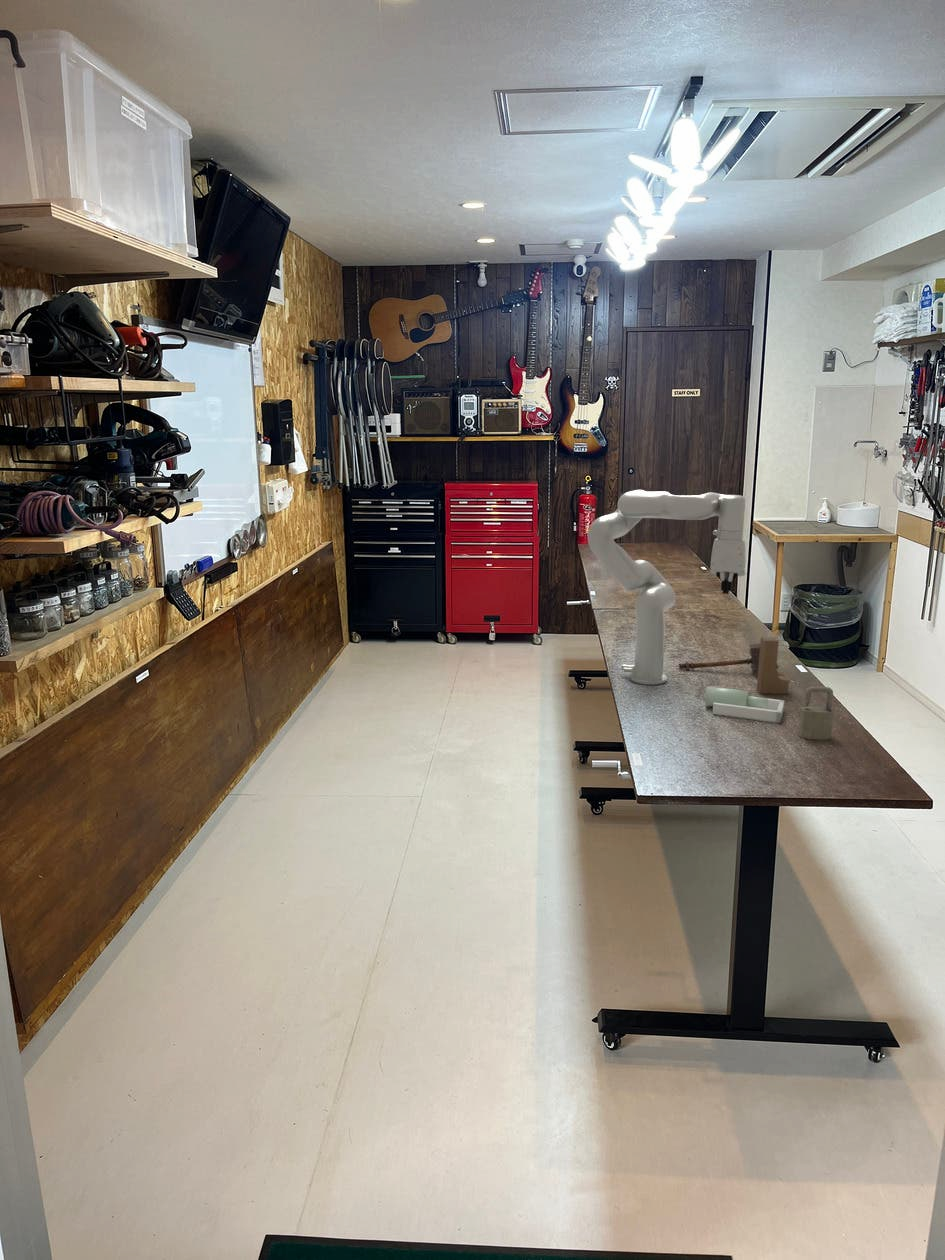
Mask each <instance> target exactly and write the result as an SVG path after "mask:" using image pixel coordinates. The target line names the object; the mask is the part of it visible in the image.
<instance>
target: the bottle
mask: <svg viewBox="0 0 945 1260" xmlns="http://www.w3.org/2000/svg"><path fill="white" fill-rule="evenodd" d="M704 699H705V700H704V705H705V706H707V707H713V704H714V703H722V704H730V705H737V706H745V707H747V706H753V707H761V708H767V704H768V699H769V698H767V697H761V696H760V697H758V696H751V695H749V690H743V689H734V688H728V687H727V688H725V687H717V686H710V685H707V686H706V690H705V697H704Z"/></svg>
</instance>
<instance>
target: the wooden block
mask: <svg viewBox="0 0 945 1260" xmlns="http://www.w3.org/2000/svg"><path fill="white" fill-rule="evenodd" d="M759 643H760V655H759V666H758V676H757V677H756V678H757V679H756V680H757V682H756V690H757V692H758V693H760V694H761V695H786V694H787V695H788V694H789V693H788V692H789V687H790V686H789V685H790V683H789V682H790V680H788V679H787V677H785V676H782V675H778V674H777V673H778V671H777V672H776V670H777V669H776V666H777V665H778V663H777V662H778V655H779V654H778V652H779V644H780V643H779V640H778V639H777V638H776V637H774V636H773V637H772V636H765V637H763V636H762V637H760V642H759Z"/></svg>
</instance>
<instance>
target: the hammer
mask: <svg viewBox="0 0 945 1260" xmlns="http://www.w3.org/2000/svg"><path fill="white" fill-rule="evenodd" d="M760 643H761V642H758V643H753V644H749V645H748V646H749V649H748V652H749V655H750V657H746V659H745V658H744V659H738V660H737V659H736V660H726V661H724V660H723V661H712V662H710V661H709V662H698V663H697V662H696V663H694V662H690V663H689V661H685V663H679V664H678V668H679V670H681V669H683V670H684V669H686V671H689V670H690V669H691V670H694V669H699V668H715V667H724V666H725V667H726V666H734V665H736V666H737V665H745V664H746V665H750V668H751V672H754V673H753V676H754V675H756V676H755V677H758V666H759V655H760ZM778 669H779V665H778V664H777V666H776V672H777V675H778Z"/></svg>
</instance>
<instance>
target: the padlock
mask: <svg viewBox="0 0 945 1260" xmlns="http://www.w3.org/2000/svg"><path fill="white" fill-rule="evenodd" d="M812 692H815V693H816V692H817V693H818V692H819V693H827V697H826V705H825V707H820V706H809V704H810V702H811V696H812ZM804 695H805V696H804V703H805V707H801V711H800V720H799V729H798V730H799V731H798V735H799V737H800V738H802V739H807V740H830V739H832V730H833V721H834V710H833V709H832V707H833V698H834V691H833V689H832V688H831V687H828V686H815V685H814V686H810V687H808V688H806V690H805V694H804Z"/></svg>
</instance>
